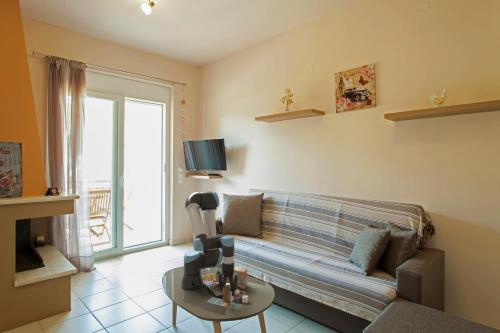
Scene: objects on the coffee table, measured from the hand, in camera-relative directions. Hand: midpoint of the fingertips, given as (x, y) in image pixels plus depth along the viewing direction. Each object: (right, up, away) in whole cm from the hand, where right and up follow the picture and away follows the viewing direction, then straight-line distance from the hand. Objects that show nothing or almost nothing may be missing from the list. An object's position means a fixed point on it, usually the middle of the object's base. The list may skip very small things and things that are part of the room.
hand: (228, 299), depth 177 cm
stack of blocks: (0, -2, +27) cm, 27 cm away
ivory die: (+10, -3, +4) cm, 11 cm away
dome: (+4, -2, +8) cm, 9 cm away
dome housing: (+4, -3, +8) cm, 10 cm away
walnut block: (0, -1, 0) cm, 1 cm away
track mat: (-2, -3, +1) cm, 4 cm away
